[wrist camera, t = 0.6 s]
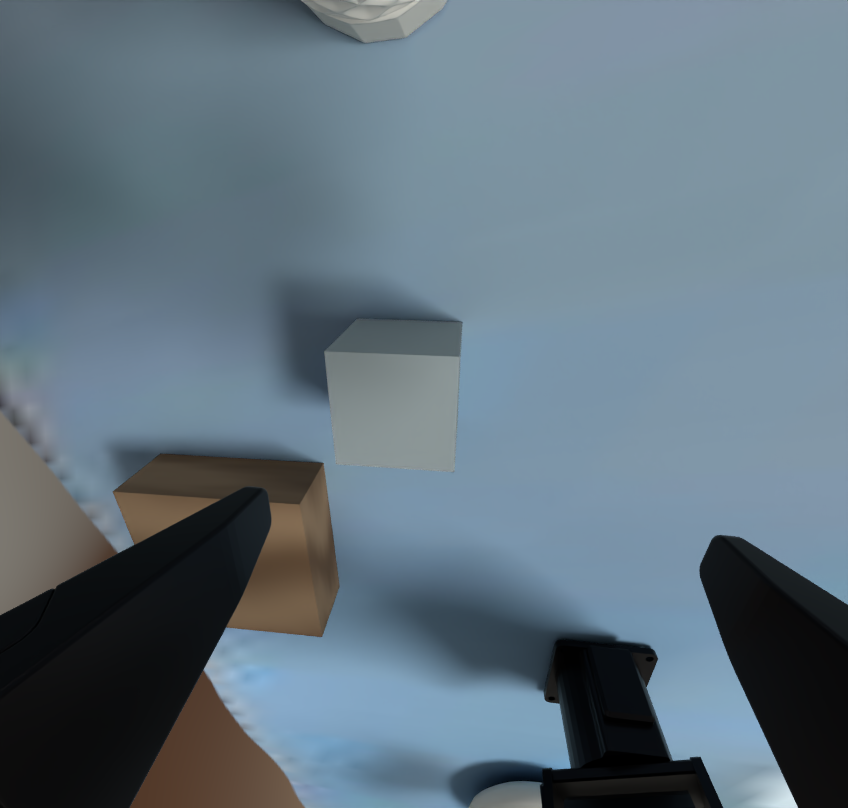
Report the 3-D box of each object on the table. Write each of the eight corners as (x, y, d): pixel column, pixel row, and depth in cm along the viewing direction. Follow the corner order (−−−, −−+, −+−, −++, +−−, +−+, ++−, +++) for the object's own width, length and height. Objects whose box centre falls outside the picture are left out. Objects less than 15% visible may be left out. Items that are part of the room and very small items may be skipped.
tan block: (340, 582, 28) (321, 637, 25) (203, 570, 29) (166, 621, 26) (325, 459, 24) (299, 504, 20) (164, 450, 25) (112, 491, 21)
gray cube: (457, 416, 21) (454, 472, 17) (363, 411, 22) (336, 464, 17) (462, 321, 19) (459, 356, 15) (357, 318, 20) (324, 351, 15)
